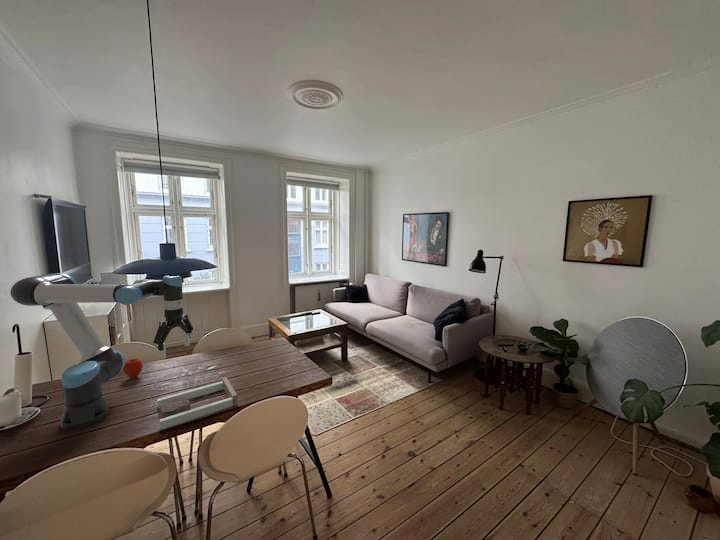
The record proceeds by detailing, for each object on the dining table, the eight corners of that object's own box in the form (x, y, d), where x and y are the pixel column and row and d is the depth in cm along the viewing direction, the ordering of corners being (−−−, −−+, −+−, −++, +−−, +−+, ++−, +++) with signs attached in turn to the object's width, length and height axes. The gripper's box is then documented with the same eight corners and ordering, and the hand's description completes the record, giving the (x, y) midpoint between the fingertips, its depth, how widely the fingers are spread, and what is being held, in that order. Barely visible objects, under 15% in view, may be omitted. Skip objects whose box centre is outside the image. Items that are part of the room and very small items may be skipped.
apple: (119, 380, 155) (117, 361, 154) (136, 373, 163) (134, 355, 162) (131, 383, 153) (129, 363, 151) (147, 375, 161) (145, 357, 159)
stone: (188, 403, 136) (188, 394, 136) (192, 413, 130) (192, 403, 129) (158, 413, 129) (157, 403, 128) (161, 424, 122) (160, 413, 121)
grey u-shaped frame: (160, 429, 118) (159, 418, 117) (157, 406, 134) (156, 396, 133) (237, 404, 136) (236, 394, 136) (226, 386, 152) (226, 377, 151)
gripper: (156, 315, 124) (158, 362, 126) (200, 302, 148) (201, 342, 151) (142, 314, 125) (144, 360, 128) (188, 301, 150) (189, 340, 152)
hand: (175, 350), depth 139 cm, fingers open, 13 cm apart
